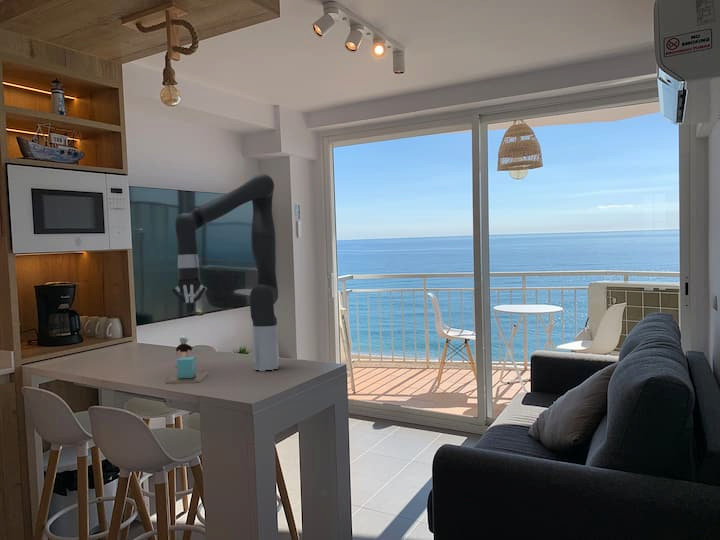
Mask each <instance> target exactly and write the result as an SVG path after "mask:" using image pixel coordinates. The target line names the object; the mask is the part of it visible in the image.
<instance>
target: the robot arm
mask: <svg viewBox="0 0 720 540" xmlns="http://www.w3.org/2000/svg"><path fill="white" fill-rule="evenodd" d="M274 189H275V182H274V180H273V178H272V177H271V176H270V175H269V174H267V173H266V174H265V173H258V174H255V175H254V176H253V177H252V178H250V179H249V180H248V181H246V182H244V183H243V184H242V185H240V186H239V187H236V188H235V189H233V190H231V191H229V192H227V193H225V194H222V195H221V196H218V197H216V198H214V199H211V200H210V201H207V202H204V203H203V204H201V205H200V206H199V207H198V208H196V209H194V210H192V211H190V212H188V213H187V212H183V213H180V214H179V215H177V217H176V219H175V223H174V225H175V233H176V239H177V272H178V283H177V286H176V287H175V288H172V290H171V291H172V293H174V295H175V296H176V297H177V298H178V299H179V300H180V302H181V303H182V302H184V303H185V307H186V312H188V314H193V313H194V312H195V311H196V302H198V301H200V300H201V298H202V297H203V295H205V293H206V291H207V290H208V287H207V286H204V285H203V284H202V282H201V279H200V260H199V253H198V242H197V239H196V230H199V228H202V227H203V226H205V225H206V224H208V223H210V222H213V221H215V220H217V219H219V218H221V217H223V216H225V215H227V214H229V213H231V212H233V211H234V210H235V209H237V208H238V207H241V206H242V205H244V204H247V203H248V202H252V221H251V230H250V231H251V235H250V236H251V237H250V240H251V253H252V256H253V260H254V264H255V266H256V270H257V271H256V272H257V285H255V286H254V287H253V288H252V289H251V291H250V293H249V309H250V311H249V312H250V318H251V320H252V339H253V340H252V341H253V370H254V369H255V370H254V371H256V370H259V371H258V372H266V371H265V370H272V371H274V370H273V369H279V368H278V366H279V367H280V360H279V358H280V356H279V354H280V353H279V342H278V319H277V317H276V315H275V309H274V306H275V304H276V302H277V301H278V299H279V288H278V282H277V275H276V271H277V270H276V265H277V263H276V262H277V261H276V259H277V258H276V256H277V255H276V228H275V222H274V218H273V194H274ZM198 291H199V292H198ZM181 292H182V293H183V294H182V293H181ZM197 292H198V294H197ZM196 294H197V296H196Z"/></svg>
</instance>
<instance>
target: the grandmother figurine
mask: <svg viewBox="0 0 720 540" xmlns="http://www.w3.org/2000/svg"><path fill="white" fill-rule="evenodd" d="M187 342H189V339H188V337H187V336H186V335H180V337H179V343H180V344H179V345H178V346H177V347H176V348H175V351H174V355H177V354H178V359H179V358H181V357H190V356H189V355H190V354H189V351H190V352H191V353H192V354H195V351H194V348H193V346H191V345H189V344H187ZM178 352H179V353H178Z"/></svg>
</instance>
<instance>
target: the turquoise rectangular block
mask: <svg viewBox="0 0 720 540" xmlns="http://www.w3.org/2000/svg"><path fill="white" fill-rule="evenodd" d="M176 364H177V365H176V367H177V374H178V378H193V377H194V376H195V375H196V373H197V358H196V356H189V357H181V358H179V357H178V359H177V360H176Z"/></svg>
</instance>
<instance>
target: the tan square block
mask: <svg viewBox="0 0 720 540" xmlns="http://www.w3.org/2000/svg"><path fill="white" fill-rule="evenodd" d="M208 375H209V372H196V375H195V376H194V377H193V378H178V373H174V374H173V375H172V376H170V377H169V378H168V379H167V380H166V381H165V384H166V383H172V384H194V382H200V383H201V382H202V381H203V380H204V379H205V378H206V377H208Z"/></svg>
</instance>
